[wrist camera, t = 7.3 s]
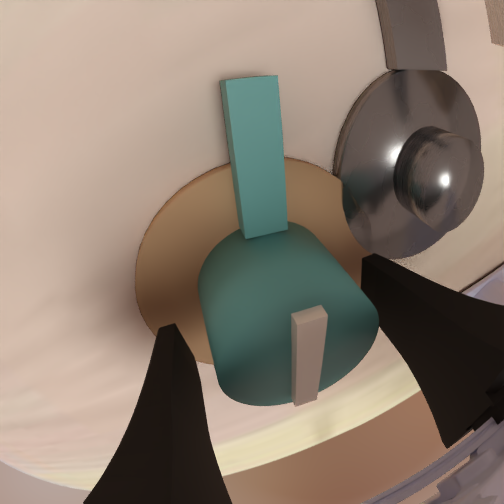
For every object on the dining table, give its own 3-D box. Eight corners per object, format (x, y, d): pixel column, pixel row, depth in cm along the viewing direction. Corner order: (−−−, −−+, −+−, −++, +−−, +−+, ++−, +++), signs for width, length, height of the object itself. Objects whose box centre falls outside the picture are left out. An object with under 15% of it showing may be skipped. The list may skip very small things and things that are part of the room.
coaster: (361, 314, 16) (366, 321, 15) (187, 377, 15) (189, 386, 14) (362, 131, 10) (371, 134, 10) (91, 211, 9) (87, 219, 9)
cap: (322, 309, 14) (368, 382, 10) (212, 340, 13) (235, 428, 9) (324, 73, 8) (427, 85, 4) (152, 93, 7) (137, 102, 4)
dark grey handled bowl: (462, 224, 15) (528, 276, 10) (337, 277, 14) (404, 365, 9) (458, -21, 6) (551, -16, 2) (288, -58, 6) (390, -125, 1)
